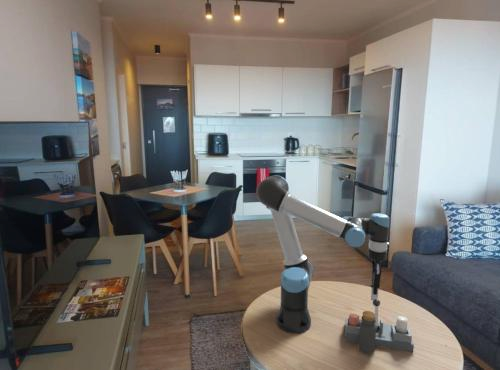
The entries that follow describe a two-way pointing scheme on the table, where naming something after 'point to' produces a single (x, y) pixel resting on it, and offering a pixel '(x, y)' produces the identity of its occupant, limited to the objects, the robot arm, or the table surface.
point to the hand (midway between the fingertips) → (374, 299)
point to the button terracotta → (354, 320)
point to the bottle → (367, 333)
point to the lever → (376, 311)
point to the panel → (382, 336)
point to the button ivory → (401, 324)
